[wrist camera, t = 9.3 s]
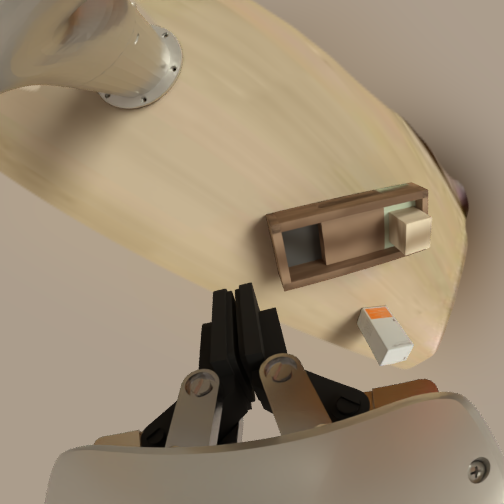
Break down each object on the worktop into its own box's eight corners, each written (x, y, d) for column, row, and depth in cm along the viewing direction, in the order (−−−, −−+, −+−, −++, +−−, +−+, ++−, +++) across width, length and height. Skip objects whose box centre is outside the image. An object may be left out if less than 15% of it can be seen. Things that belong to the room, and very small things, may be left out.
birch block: (388, 211, 37) (406, 224, 33) (413, 206, 37) (432, 217, 32) (388, 241, 39) (405, 255, 35) (412, 234, 39) (429, 247, 35)
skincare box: (386, 304, 49) (415, 344, 38) (380, 320, 51) (406, 361, 40) (361, 306, 48) (388, 350, 37) (355, 323, 50) (379, 367, 39)
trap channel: (265, 214, 38) (270, 226, 34) (411, 182, 38) (428, 189, 34) (279, 275, 43) (284, 291, 39) (411, 238, 42) (425, 249, 38)
